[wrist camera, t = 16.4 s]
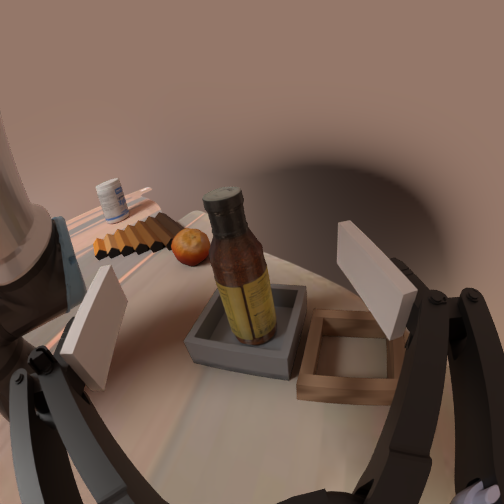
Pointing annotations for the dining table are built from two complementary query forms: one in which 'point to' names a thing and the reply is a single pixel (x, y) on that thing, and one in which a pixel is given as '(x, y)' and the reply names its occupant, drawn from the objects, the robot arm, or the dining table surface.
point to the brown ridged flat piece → (139, 237)
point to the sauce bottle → (239, 268)
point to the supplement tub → (112, 201)
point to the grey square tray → (250, 356)
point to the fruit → (190, 246)
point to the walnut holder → (346, 387)
